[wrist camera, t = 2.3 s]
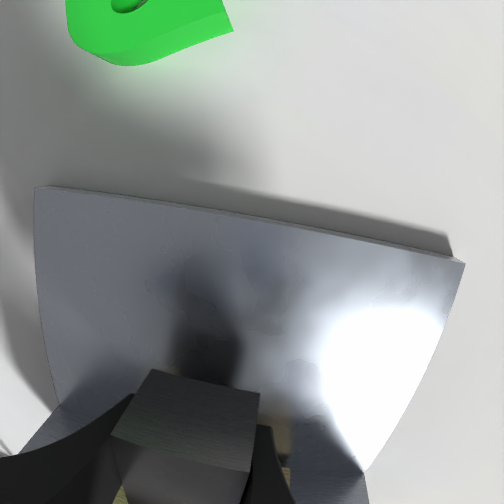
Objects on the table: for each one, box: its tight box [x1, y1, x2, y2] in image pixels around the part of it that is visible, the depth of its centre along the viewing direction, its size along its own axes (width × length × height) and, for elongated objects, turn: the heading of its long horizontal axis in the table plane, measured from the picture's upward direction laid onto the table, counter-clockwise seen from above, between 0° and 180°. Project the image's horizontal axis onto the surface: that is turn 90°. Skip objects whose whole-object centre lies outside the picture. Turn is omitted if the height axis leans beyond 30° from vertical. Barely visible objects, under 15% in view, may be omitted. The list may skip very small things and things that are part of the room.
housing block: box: [19, 186, 465, 504], centre depth 10 cm, size 18×18×8 cm
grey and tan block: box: [110, 368, 290, 504], centre depth 10 cm, size 11×9×6 cm
